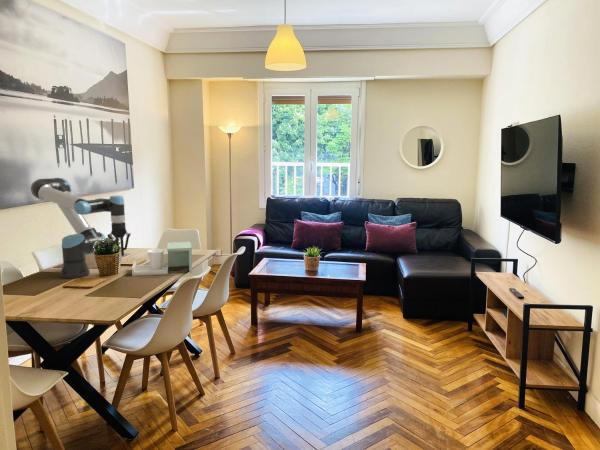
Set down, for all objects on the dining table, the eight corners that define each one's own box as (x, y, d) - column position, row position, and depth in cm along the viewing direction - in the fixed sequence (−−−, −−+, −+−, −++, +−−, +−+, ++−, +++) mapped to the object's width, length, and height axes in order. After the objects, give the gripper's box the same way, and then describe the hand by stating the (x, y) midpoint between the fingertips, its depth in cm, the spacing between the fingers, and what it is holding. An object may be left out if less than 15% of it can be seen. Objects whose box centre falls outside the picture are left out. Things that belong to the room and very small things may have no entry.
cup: (167, 266, 276) (166, 249, 274) (160, 270, 266) (160, 252, 264) (152, 265, 277) (151, 248, 275) (144, 269, 267) (144, 252, 265)
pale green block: (168, 274, 262) (167, 248, 260) (168, 266, 280) (167, 242, 278) (192, 273, 266) (191, 247, 264) (190, 265, 284) (190, 241, 282)
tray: (132, 275, 257) (131, 267, 256) (134, 269, 272) (134, 261, 272) (168, 273, 263) (167, 265, 262) (168, 267, 278) (168, 259, 277)
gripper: (105, 223, 253) (108, 263, 256) (129, 222, 256) (132, 262, 260) (107, 221, 260) (109, 260, 263) (130, 220, 263) (133, 259, 267)
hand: (120, 261), depth 262 cm, fingers closed
